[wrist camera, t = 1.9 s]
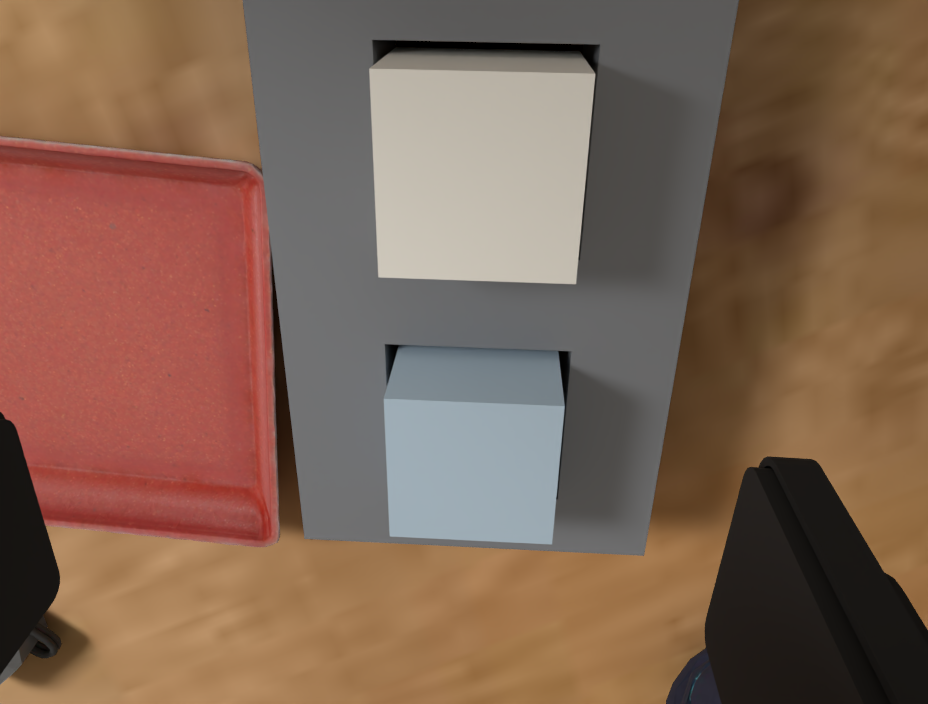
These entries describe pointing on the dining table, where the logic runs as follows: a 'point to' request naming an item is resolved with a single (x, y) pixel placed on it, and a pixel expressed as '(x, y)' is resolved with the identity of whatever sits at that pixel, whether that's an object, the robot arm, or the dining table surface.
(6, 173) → the plant saucer
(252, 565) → the dining table surface
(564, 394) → the console
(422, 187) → the white key
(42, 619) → the walkie-talkie
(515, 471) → the blue key
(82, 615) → the dining table surface
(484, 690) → the dining table surface
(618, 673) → the dining table surface
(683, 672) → the portable speaker
